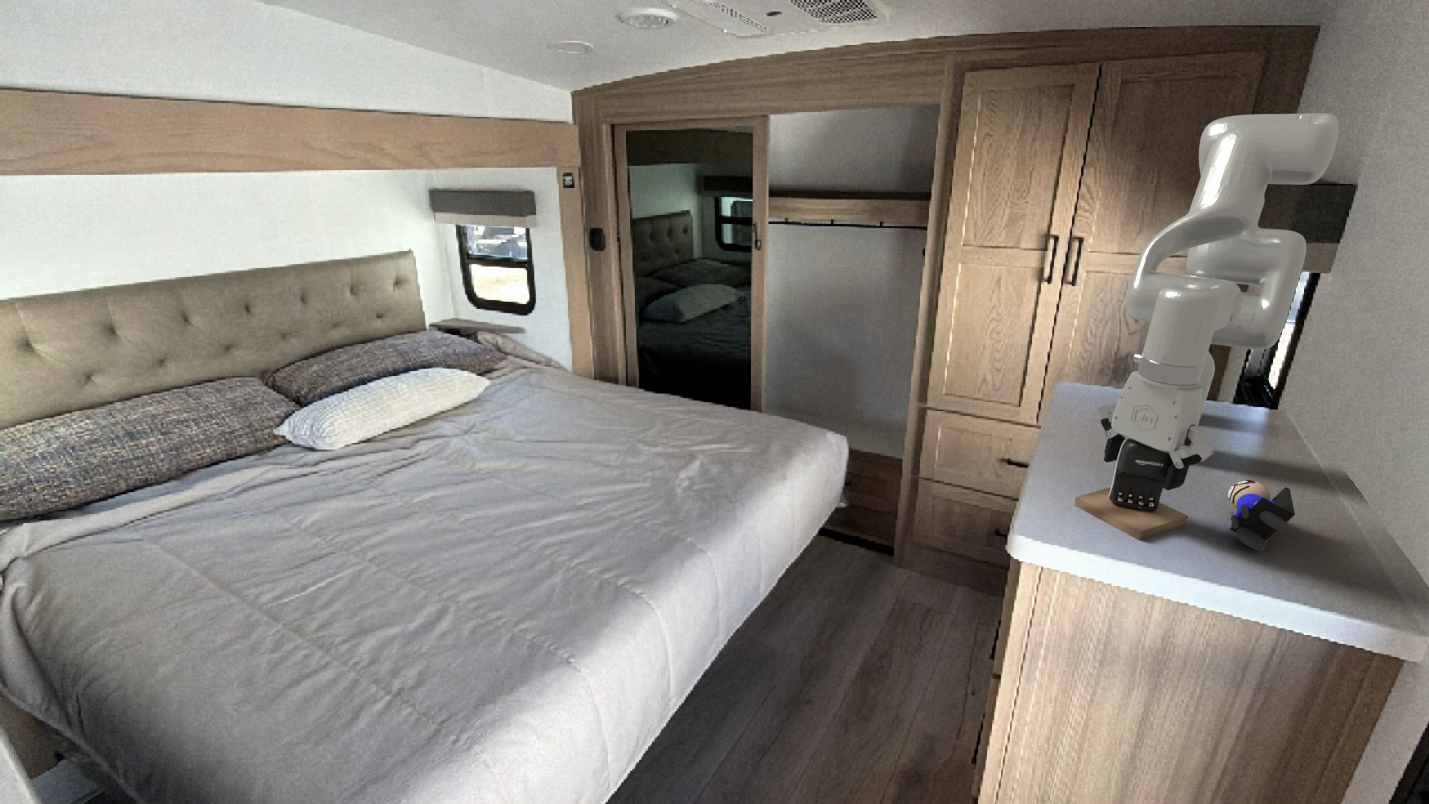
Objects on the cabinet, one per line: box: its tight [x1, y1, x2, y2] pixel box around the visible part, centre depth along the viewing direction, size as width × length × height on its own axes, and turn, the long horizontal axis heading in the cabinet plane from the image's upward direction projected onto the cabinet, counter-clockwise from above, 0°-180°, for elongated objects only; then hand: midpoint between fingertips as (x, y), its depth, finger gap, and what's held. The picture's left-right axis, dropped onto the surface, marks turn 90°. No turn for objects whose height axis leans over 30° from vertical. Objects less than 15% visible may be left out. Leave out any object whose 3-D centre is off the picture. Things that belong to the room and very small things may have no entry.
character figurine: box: [1227, 479, 1296, 551], centre depth 96 cm, size 8×7×15 cm
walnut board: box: [1073, 486, 1189, 541], centre depth 102 cm, size 11×11×2 cm
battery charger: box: [1108, 438, 1174, 511], centre depth 99 cm, size 7×4×11 cm, turn 68°
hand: (1140, 473), depth 100 cm, fingers open, 9 cm apart
